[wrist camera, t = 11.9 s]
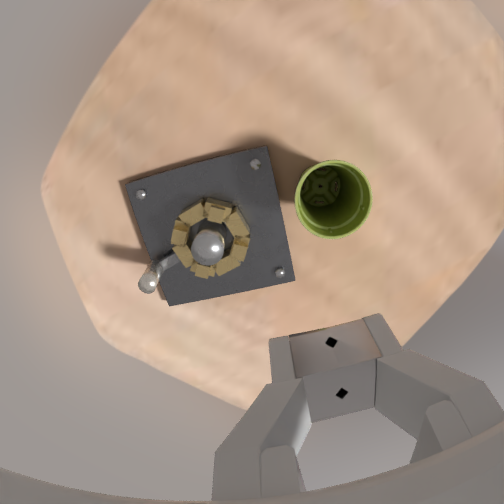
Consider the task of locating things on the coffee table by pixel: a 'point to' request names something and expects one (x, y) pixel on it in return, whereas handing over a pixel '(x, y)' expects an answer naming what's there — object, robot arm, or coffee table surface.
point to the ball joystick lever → (182, 243)
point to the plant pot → (333, 199)
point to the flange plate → (224, 189)
